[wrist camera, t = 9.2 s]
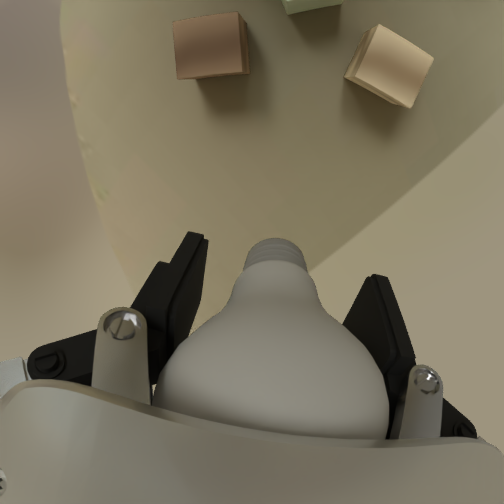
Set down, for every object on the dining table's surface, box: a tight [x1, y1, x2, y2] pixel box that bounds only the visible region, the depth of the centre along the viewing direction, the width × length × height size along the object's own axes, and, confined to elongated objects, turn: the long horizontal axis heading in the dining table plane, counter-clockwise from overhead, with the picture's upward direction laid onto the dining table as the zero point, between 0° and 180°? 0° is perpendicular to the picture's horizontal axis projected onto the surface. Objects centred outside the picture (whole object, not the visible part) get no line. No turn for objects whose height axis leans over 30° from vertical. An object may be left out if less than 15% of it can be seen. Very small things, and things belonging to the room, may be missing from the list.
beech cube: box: [344, 24, 434, 109], centre depth 20 cm, size 5×5×5 cm
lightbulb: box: [152, 238, 389, 440], centre depth 9 cm, size 6×6×11 cm
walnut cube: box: [173, 12, 250, 79], centre depth 21 cm, size 5×5×5 cm
